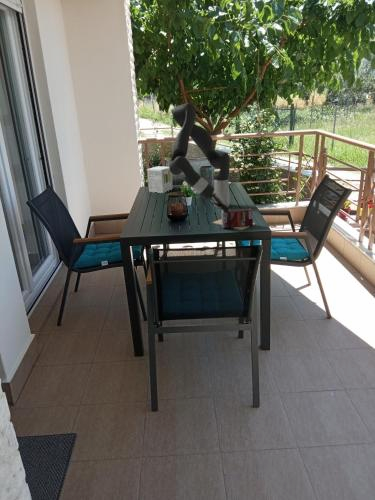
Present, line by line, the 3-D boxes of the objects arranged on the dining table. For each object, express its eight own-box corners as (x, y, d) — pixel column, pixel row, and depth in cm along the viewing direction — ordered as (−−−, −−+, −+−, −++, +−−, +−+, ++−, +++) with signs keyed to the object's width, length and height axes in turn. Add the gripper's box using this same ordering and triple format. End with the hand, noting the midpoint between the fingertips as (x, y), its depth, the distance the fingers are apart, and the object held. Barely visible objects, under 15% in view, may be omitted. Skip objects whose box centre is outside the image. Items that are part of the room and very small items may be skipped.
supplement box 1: (162, 193, 288) (161, 169, 281) (148, 192, 295) (146, 168, 288) (173, 189, 298) (171, 166, 292) (159, 188, 305) (157, 165, 299)
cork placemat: (226, 218, 221) (226, 217, 221) (255, 224, 207) (255, 223, 207) (212, 223, 213) (212, 222, 213) (241, 230, 200) (241, 229, 200)
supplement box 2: (222, 212, 199) (253, 210, 200) (221, 210, 204) (250, 207, 204) (223, 228, 202) (253, 226, 203) (221, 225, 207) (251, 223, 208)
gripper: (208, 185, 188) (234, 208, 192) (207, 179, 200) (231, 201, 204) (197, 196, 190) (223, 219, 194) (197, 190, 203) (221, 212, 207)
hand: (227, 210), depth 199 cm, fingers closed
